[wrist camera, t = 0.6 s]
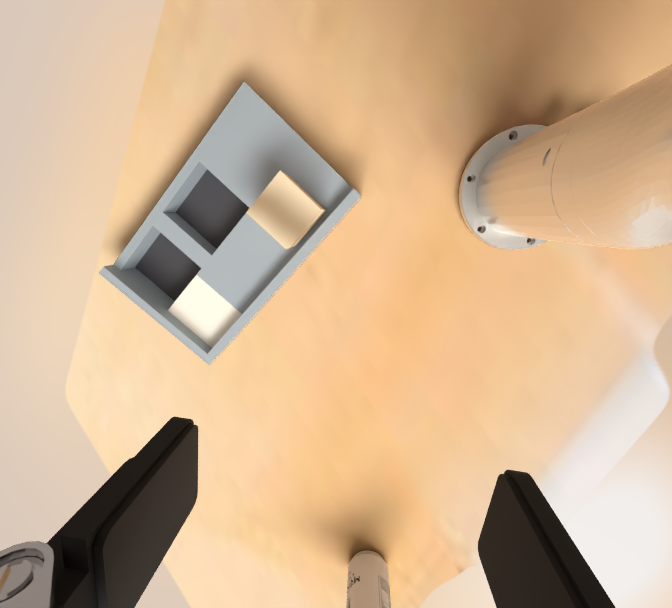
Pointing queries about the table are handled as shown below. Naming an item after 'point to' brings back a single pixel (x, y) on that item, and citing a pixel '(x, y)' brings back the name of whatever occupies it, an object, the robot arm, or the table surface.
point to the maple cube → (286, 210)
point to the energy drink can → (368, 581)
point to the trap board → (225, 229)
